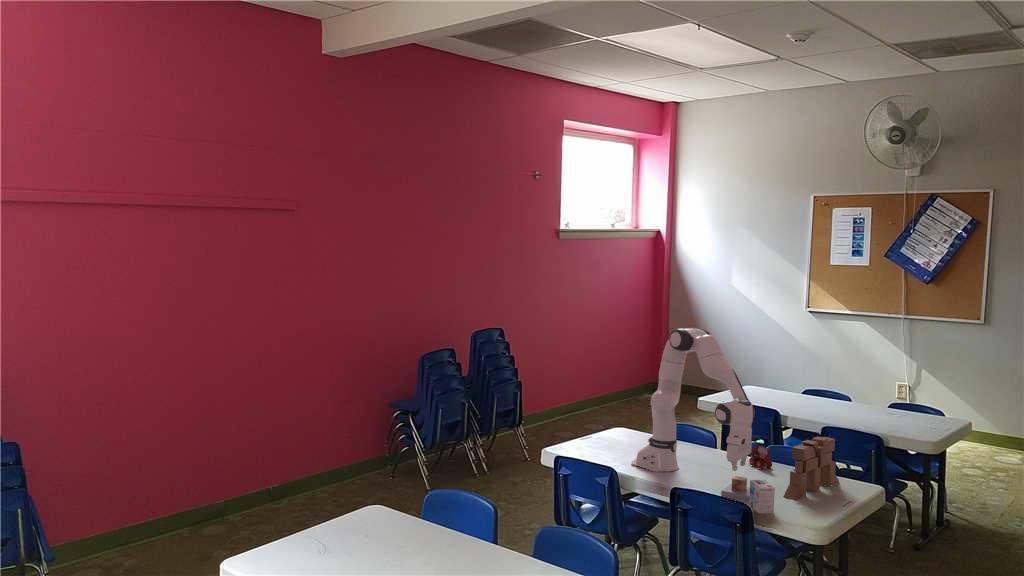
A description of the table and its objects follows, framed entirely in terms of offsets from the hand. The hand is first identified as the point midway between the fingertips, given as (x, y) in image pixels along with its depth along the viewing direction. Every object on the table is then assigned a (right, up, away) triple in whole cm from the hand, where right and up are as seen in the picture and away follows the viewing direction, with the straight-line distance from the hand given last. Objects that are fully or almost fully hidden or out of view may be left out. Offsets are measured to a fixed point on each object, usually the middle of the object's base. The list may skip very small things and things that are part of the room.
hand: (738, 467), depth 340 cm
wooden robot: (+36, -12, +10) cm, 39 cm away
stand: (+1, -12, +1) cm, 12 cm away
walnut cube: (+1, -10, +1) cm, 10 cm away
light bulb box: (+5, -14, -16) cm, 21 cm away
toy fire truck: (+23, -10, +45) cm, 51 cm away
